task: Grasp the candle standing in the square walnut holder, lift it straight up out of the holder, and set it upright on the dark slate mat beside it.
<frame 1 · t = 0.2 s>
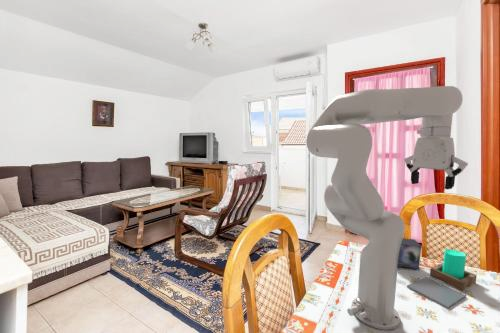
hand: (430, 186, 78), 36 cm above the table, tool pointing down, fingers open, 9 cm apart
slate mat: (435, 291, 81), on the table
holder: (452, 279, 88), on the table
small box: (401, 265, 98), on the table
candle: (452, 279, 88), resting in holder
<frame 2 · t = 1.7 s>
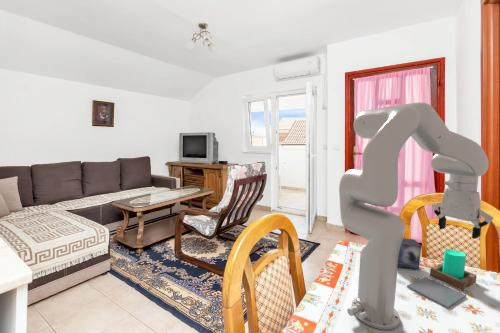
hand: (457, 232, 87), 18 cm above the table, tool pointing down, fingers open, 9 cm apart
nothing on the table moved.
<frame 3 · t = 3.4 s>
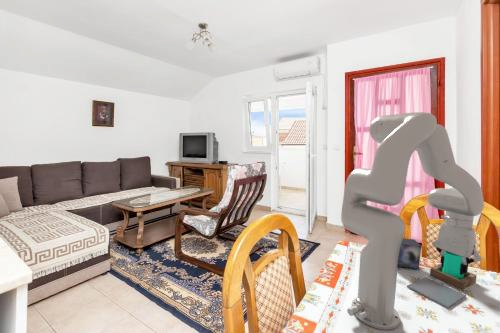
hand: (453, 269, 88), 4 cm above the table, tool pointing down, fingers closed on candle, 4 cm apart
candle: (452, 279, 88), resting in holder, touching gripper
everything else where it was.
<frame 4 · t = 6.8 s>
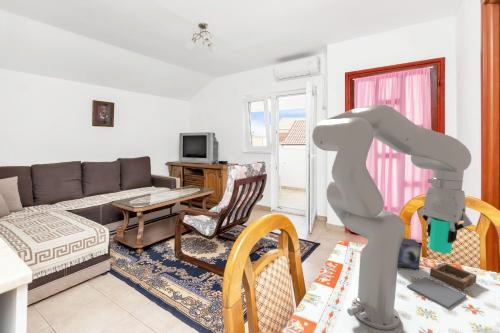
hand: (440, 238, 79), 19 cm above the table, tool pointing down, fingers closed on candle, 4 cm apart
candle: (439, 250, 79), point 15 cm above the table, touching gripper
everything else where it was.
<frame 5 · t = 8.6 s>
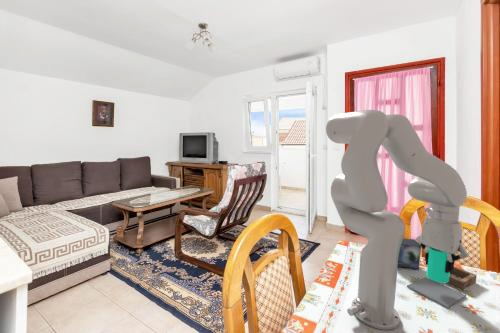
hand: (438, 267, 80), 9 cm above the table, tool pointing down, fingers closed on candle, 4 cm apart
candle: (437, 278, 81), point 5 cm above the table, touching gripper
everything else where it was.
when the fingers open (6 cm above the table, at t = 10.0 s): candle drops 1 cm, resting on slate mat.
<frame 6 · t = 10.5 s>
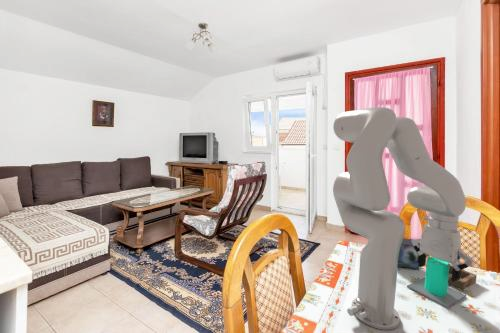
hand: (437, 272, 80), 7 cm above the table, tool pointing down, fingers open, 9 cm apart
candle: (435, 290, 81), resting on slate mat
everything else where it was.
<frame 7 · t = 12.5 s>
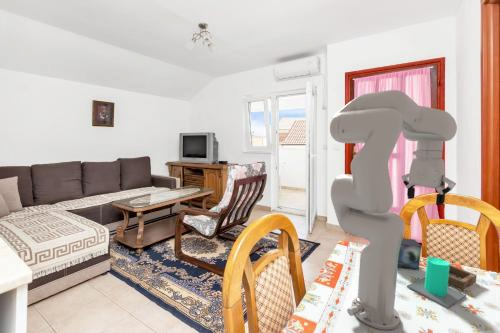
hand: (424, 201, 88), 29 cm above the table, tool pointing down, fingers open, 9 cm apart
nothing on the table moved.
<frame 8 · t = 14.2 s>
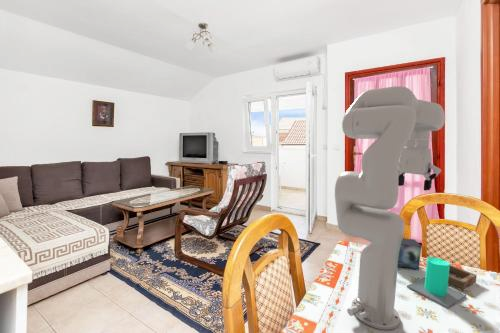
hand: (413, 187, 95), 32 cm above the table, tool pointing down, fingers open, 9 cm apart
nothing on the table moved.
at the end: candle inside the target area on the slate mat (0.2 cm from its centre), point 0.4 cm above the slate mat's base; candle tilted 0°; the gripper is holding nothing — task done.
